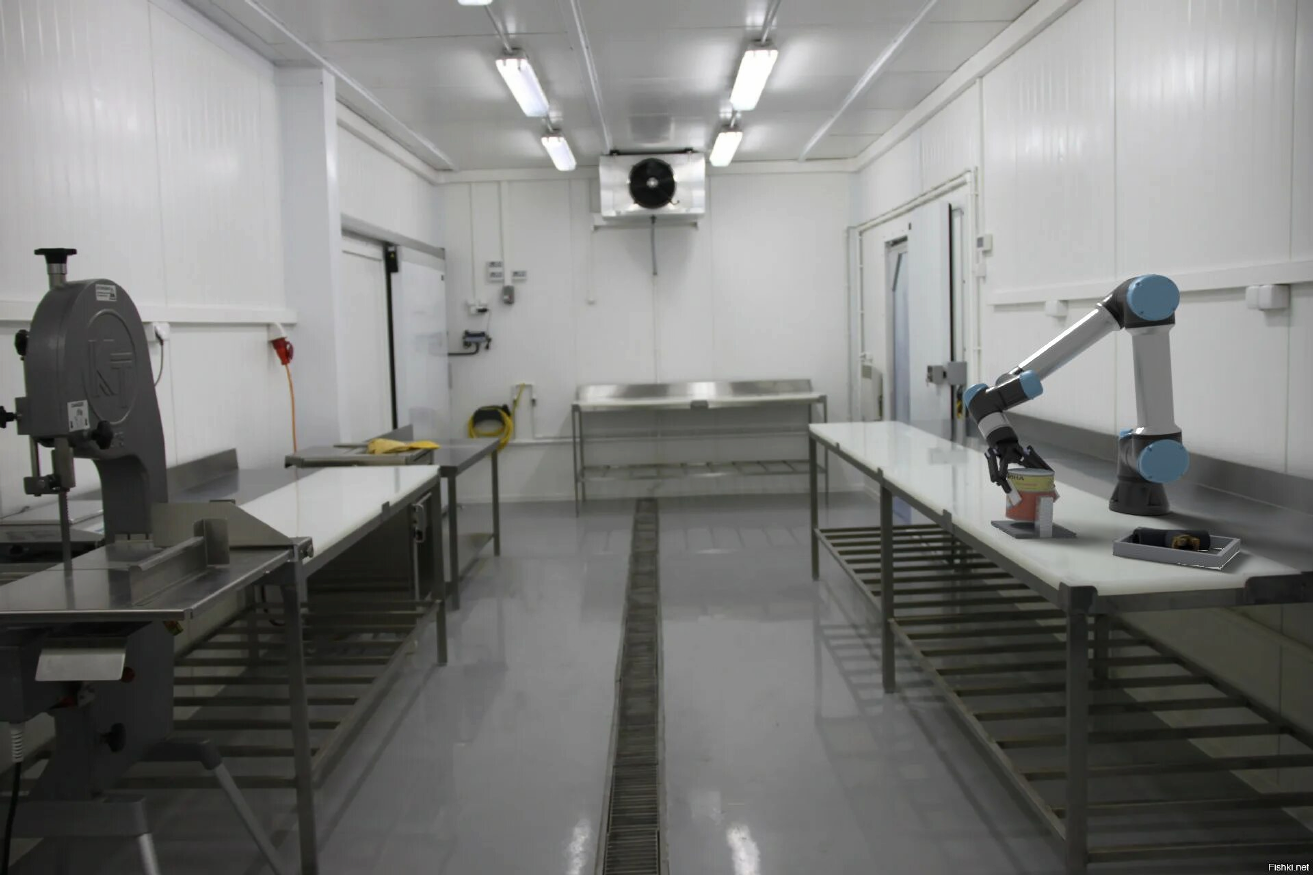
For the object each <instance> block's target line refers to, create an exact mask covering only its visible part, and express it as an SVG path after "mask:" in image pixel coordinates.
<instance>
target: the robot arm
mask: <svg viewBox="0 0 1313 875" xmlns="http://www.w3.org/2000/svg"><path fill="white" fill-rule="evenodd" d="M1180 301H1181V293H1180V289H1179V287H1178V286H1177V284H1176V283H1175V282H1174V281H1173V280H1172V279H1171V278H1169V277H1167V276H1165V275H1161V274H1156V273H1153V274H1152V273H1150V274H1149V273H1147V274H1144V275H1141V276H1134V277H1131V278H1128V279H1126V280H1125V281H1122V283H1120V284H1119V285H1118V286H1117V287H1116V288H1115V289H1113V290H1112V291H1111V292H1109V294H1107V295H1106V296H1104V297H1103V298H1102V299H1101V300H1100V301H1098V302H1097V303H1096V304H1095V306H1094V310H1092V311H1091V312H1090V313H1087V315H1085V316H1084V317H1083V318H1081V319H1080V320H1078V321H1077V322H1075V323H1074V324H1073V325H1071V326H1070V327H1069V328H1067V329H1066V330H1065V331H1063V332H1062V333H1060V334H1059V335H1058V336H1056V337H1055V338H1054V339H1052V340H1051V341H1049V342H1048V343H1046V344H1045V345H1044V346H1042V347H1041V348H1039V349H1038V350H1037V351H1036V352H1034V353H1033V354H1031V355H1030V356H1029V357H1027V358H1026V359H1024V360H1023V361H1021V362H1020V363H1019V364H1017V366H1015V367H1014V368H1012V369H1011V370H1009V371H1008V372H1005V373H1002V374H1001V375H999V376H998V377H997V378H996V380H995V381H994V385H993V386H989V385H987V383H984V382H979V383H974V384H972V385H971V386H969V387H967V389H966V390H965V391H964V393H963V396H962V400H963V402H964V404H965V406H966V408H967V410H968V412H969V414H970V415H971V418H972V419H973V421H974V422H975V424H976V426H977V427H978V430H979V431H980V433H981V435H982V436H983V439H984V440H985V442H986V444H987V445H988V448H987V449H986V451H984V453H983V455H984V456H985V459H986V461H987V462H986V463H987V467H988V473H989V479H990V482H991V483H995V484H996V486H997V487H1001V489H1002V490H1003V492H1004V493H1005V495H1006V494H1008V496H1009V498H1010V500H1011V501H1012V503H1013V505H1014V506H1017V505H1018V503H1019V502H1020V501H1021V500H1022V499H1021V497H1020V495H1019V493H1018V492H1017V490H1016V488H1015V486H1014V485H1013V483H1012V481H1011V479H1007V471H1008V469H1009V465H1011V464H1014V465H1015V464H1017V465H1018V466H1020V467H1022V468H1036V469H1045V470H1050V471H1053V472H1055V471H1054V469H1052V468H1051V466H1050V465H1049V464H1048V463H1047V462H1045V460H1044V459H1043V458H1042V457H1041V456H1040V455H1039V454H1038V453H1037V452H1036V451H1035V449H1034V447H1033V446H1032V445H1030V444H1029V445H1027V447H1026V446H1025V447H1023V446H1022V445H1021V444H1020V443H1019V437H1018V435H1017V433H1016V432H1015V430H1014V428H1013V427H1012V425H1011V423H1010V421H1009V420H1008V418H1007V416H1006V415H1005V413H1004V412H1007V411H1008V410H1011V409H1012V408H1015V407H1018V406H1019V405H1022V404H1024V403H1027V402H1030V401H1032V400H1034V399H1036V398H1038V397H1039V396H1041V395H1042V394H1044V388H1043V385H1042V383H1041V382H1042V381H1044V380H1045V379H1047V378H1048V377H1049V376H1051V375H1052V374H1054V373H1055V372H1057V371H1058V370H1059V369H1061V368H1062V367H1064V366H1066V365H1067V364H1068V363H1069V362H1071V361H1072V360H1074V359H1075V358H1076V357H1078V356H1079V355H1080V354H1083V352H1085V351H1086V350H1088V349H1089V348H1091V347H1092V346H1093V345H1095V344H1097V343H1098V342H1099V341H1101V340H1102V339H1104V337H1106V336H1108V335H1110V333H1112V332H1120V331H1122V330H1123V329H1124V331H1126V332H1127V333H1129V334H1130V336H1131V342H1132V343H1131V344H1132V345H1131V346H1132V358H1133V359H1132V360H1133V374H1134V391H1135V392H1134V394H1135V406H1136V409H1135V410H1136V420H1137V422H1136V424H1137V425H1136V427H1135V428H1124V429H1122V430H1120V432H1119V436H1118V439H1117V440H1118V441H1117V442H1118V453H1117V454H1118V455H1117V471H1116V472H1117V474H1116V483H1115V485H1114V488H1113V490H1112V493H1111V495H1110V497H1109V499H1108V509H1109V510H1111V511H1114V512H1118V513H1123V514H1129V515H1130V514H1131V515H1139V516H1157V515H1158V516H1161V515H1167V514H1170V511H1171V509H1170V508H1171V504H1170V500H1169V497H1168V494H1167V490H1166V487H1165V484H1169V483H1172V482H1175V481H1176V480H1178V479H1180V478H1181V477H1182V476H1184V474H1185V473H1186V472H1187V470H1188V468H1189V466H1190V455H1189V452H1188V450H1187V448H1186V447H1185V445H1184V444H1183V429H1182V428H1181V427H1179V425H1177V424H1176V423H1175V408H1174V391H1173V390H1174V389H1173V372H1172V371H1173V370H1172V358H1171V354H1172V353H1171V342H1170V332H1171V330H1172V329H1173V328H1174V327H1175V326H1176V310H1177V309H1178V307H1179V305H1180ZM998 459H999V461H998ZM998 463H999V464H998ZM1060 497H1061V495H1060V494H1059V492H1058V490H1057V489H1056V484H1055V483H1054V493H1053V504H1056V502H1057V501H1058V499H1060Z"/></svg>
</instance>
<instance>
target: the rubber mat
mask: <svg viewBox="0 0 1313 875" xmlns="http://www.w3.org/2000/svg"><path fill="white" fill-rule="evenodd" d="M991 524H992V525H991ZM990 525H991V526H993V527H995V528H997V529H998V528H999V529H998V530H1000V531H1002V530H1003V531H1002V532H1003V533H1005V534H1007V533H1008V534H1007V535H1009V536H1011V537H1012V536H1013V537H1012V538H1014V537H1015V538H1014V539H1039V538H1040V534H1039V533H1037V532H1035V522H1024V521H1017V520H1012V519H1009V520H1003V519H1002V520H990ZM1052 538H1053V539H1054V538H1058V539H1060V538H1067V539H1068V538H1077V533H1076V532H1074V531H1072V530H1070V529H1068V528H1066V527H1064V526H1061V525H1059V524H1058V523H1055V522H1054V521H1052ZM1040 539H1041V538H1040Z"/></svg>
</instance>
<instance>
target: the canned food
mask: <svg viewBox="0 0 1313 875" xmlns="http://www.w3.org/2000/svg"><path fill="white" fill-rule="evenodd" d="M1055 474H1056V473H1055V471H1054V472H1053V471H1050V470H1045V469H1036V468H1025V467H1017V468H1016V467H1014V468H1008V471H1007V478H1006V480H1007V479H1011V481H1012V483H1013V485H1014V486H1015V488H1016V490H1017V492H1018V493H1019V495H1020V497H1021V499H1022V500H1021V501H1020V502H1019V503H1018V505H1017V506H1014V505H1013V503H1012V501H1011V500H1010V498H1009V496H1008V494H1006V493H1005V495H1006V497H1005V514H1004V516H1005V518H1006V519H1009V520H1017V521H1024V522H1035V509H1036V495H1048V496H1051V497H1053V493H1054V484H1055Z"/></svg>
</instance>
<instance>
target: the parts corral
mask: <svg viewBox="0 0 1313 875" xmlns="http://www.w3.org/2000/svg"><path fill="white" fill-rule="evenodd" d="M1135 529H1157V528H1154V527H1146V526H1138V527H1136V528H1133V530H1131V531H1129V532H1127V533H1125V534H1124V535H1123V536H1121V537H1119V538H1117V539H1116V540H1114V541H1113V544H1112V555H1114V556H1119V557H1125V556H1126V557H1127V558H1133V559H1140V560H1146V561H1152V562H1153V561H1154V562H1159V561H1161V562H1160V563H1166V562H1168V564H1173V563H1180V564H1186V565H1185V566H1187V565H1199V566H1204V567H1219V568H1220V567H1222V565H1224V564H1225V563H1226V562H1227V561H1228V560H1229V559H1230V558H1231V557H1232V556H1233V555H1234V554H1235V553H1236V552H1238V551H1239V550H1240V551H1241V538H1236V537H1227V536H1219V535H1211V534H1209V535H1210V540H1211V544H1210V548H1222V549H1223V548H1224V549H1223V550H1219V552H1218V553H1217V554H1215V553H1214V554H1213V553H1207V552H1201V551H1198V552H1192V551H1185V550H1177V549H1170V548H1163V547H1155V546H1148V545H1141V544H1133V543H1132V534H1133V531H1134V530H1135ZM1180 564H1179V565H1180Z"/></svg>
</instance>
